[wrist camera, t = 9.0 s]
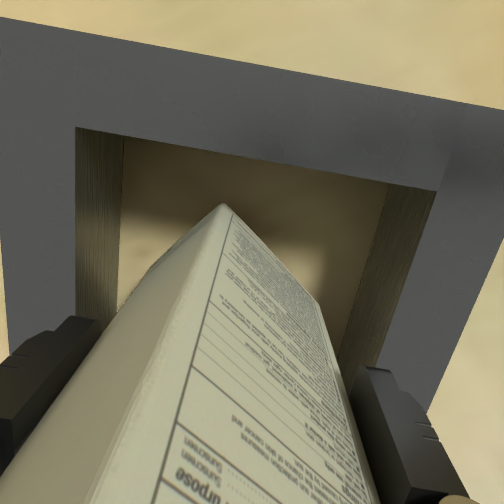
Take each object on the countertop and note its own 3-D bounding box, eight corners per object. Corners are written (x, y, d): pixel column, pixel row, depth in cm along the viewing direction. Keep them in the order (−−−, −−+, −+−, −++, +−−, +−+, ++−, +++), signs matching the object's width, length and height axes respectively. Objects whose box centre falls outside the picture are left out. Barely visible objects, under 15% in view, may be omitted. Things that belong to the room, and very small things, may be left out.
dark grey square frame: (478, 118, 14) (555, 119, 10) (363, 431, 20) (385, 506, 16) (60, 41, 14) (-18, 13, 10) (65, 382, 19) (17, 447, 16)
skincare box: (149, 265, 15) (-224, 732, 4) (227, 194, 14) (34, 562, 2) (251, 363, 17) (210, 912, 5) (330, 306, 15) (504, 859, 4)
